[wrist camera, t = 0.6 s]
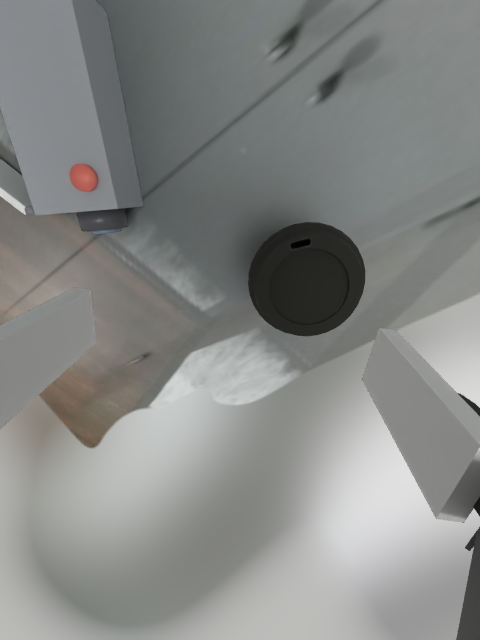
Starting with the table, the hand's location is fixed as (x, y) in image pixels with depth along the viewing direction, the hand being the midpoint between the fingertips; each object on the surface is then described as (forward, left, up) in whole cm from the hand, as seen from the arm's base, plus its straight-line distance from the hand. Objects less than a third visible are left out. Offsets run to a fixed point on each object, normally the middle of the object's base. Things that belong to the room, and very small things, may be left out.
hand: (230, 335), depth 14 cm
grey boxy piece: (-13, -18, -26) cm, 34 cm away
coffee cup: (+1, +5, -26) cm, 27 cm away
